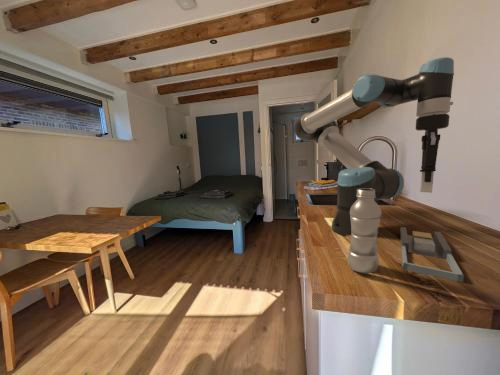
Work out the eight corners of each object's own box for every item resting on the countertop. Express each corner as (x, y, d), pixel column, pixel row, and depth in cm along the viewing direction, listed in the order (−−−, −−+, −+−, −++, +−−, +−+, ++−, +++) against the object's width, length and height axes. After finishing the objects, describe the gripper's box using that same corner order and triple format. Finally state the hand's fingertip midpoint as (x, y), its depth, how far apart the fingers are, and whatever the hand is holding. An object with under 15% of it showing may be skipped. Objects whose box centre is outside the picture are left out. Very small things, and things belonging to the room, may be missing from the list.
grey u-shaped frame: (402, 271, 47) (403, 262, 47) (401, 253, 56) (401, 245, 56) (462, 286, 42) (463, 275, 41) (450, 263, 50) (451, 254, 50)
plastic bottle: (341, 264, 52) (344, 188, 49) (366, 262, 52) (370, 186, 50) (357, 278, 45) (360, 192, 43) (385, 276, 46) (390, 190, 43)
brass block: (412, 244, 60) (413, 235, 59) (411, 239, 63) (412, 230, 63) (431, 248, 57) (432, 238, 57) (429, 242, 61) (430, 233, 60)
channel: (401, 253, 56) (401, 242, 56) (399, 236, 68) (400, 226, 68) (450, 263, 50) (451, 250, 50) (439, 242, 63) (440, 232, 62)
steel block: (414, 250, 56) (414, 242, 56) (412, 245, 59) (413, 237, 59) (434, 254, 53) (435, 245, 53) (431, 248, 57) (432, 239, 56)
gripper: (454, 109, 53) (446, 196, 57) (444, 117, 64) (438, 189, 67) (418, 114, 58) (412, 194, 61) (414, 120, 68) (409, 188, 71)
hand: (425, 191), depth 64 cm, fingers closed
